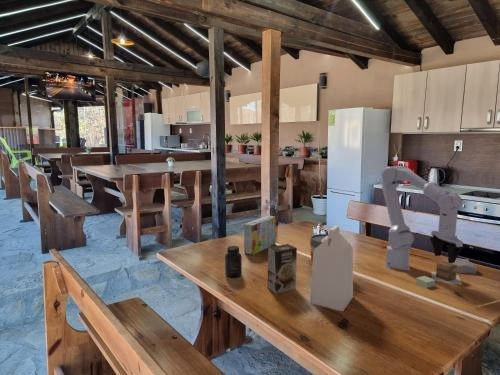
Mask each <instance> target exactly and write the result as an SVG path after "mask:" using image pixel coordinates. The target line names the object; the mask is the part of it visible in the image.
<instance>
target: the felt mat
mask: <svg viewBox="0 0 500 375" xmlns="http://www.w3.org/2000/svg"><path fill="white" fill-rule="evenodd" d="M430 275H431V279H433V280H435V282H438V283H445V284H453V285H459V286H462V285H463V283H462V280H461V278H460V276H459V275H458V274H456V279H455V280H451V281H445V280H443V279H440V278H438V277H436V271H430Z"/></svg>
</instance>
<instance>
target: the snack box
mask: <svg viewBox="0 0 500 375" xmlns="http://www.w3.org/2000/svg"><path fill="white" fill-rule="evenodd" d="M276 233H277V232H276V216H275V215H273V216H272V215H266V216H263V217H259V218H257V219H254V220H252V221H249V222H246V223H244V224H243V244H244V247H243V248H244V250H243V252H244V254H245V255H251V256H255V255H256V254H257V253H259V252H261V251H264V250H266V249H268V247H272V246H274V245H275V246H276V242H277V238H276V235H277V234H276Z"/></svg>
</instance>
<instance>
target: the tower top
mask: <svg viewBox="0 0 500 375" xmlns="http://www.w3.org/2000/svg"><path fill="white" fill-rule="evenodd" d="M436 270H439V271H441V272H444V273H446V274H450V273H455V272H457V265H456V264H454V263H449V262H448V261H446V260H443V261H442V260H441V261H438V262H436Z"/></svg>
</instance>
